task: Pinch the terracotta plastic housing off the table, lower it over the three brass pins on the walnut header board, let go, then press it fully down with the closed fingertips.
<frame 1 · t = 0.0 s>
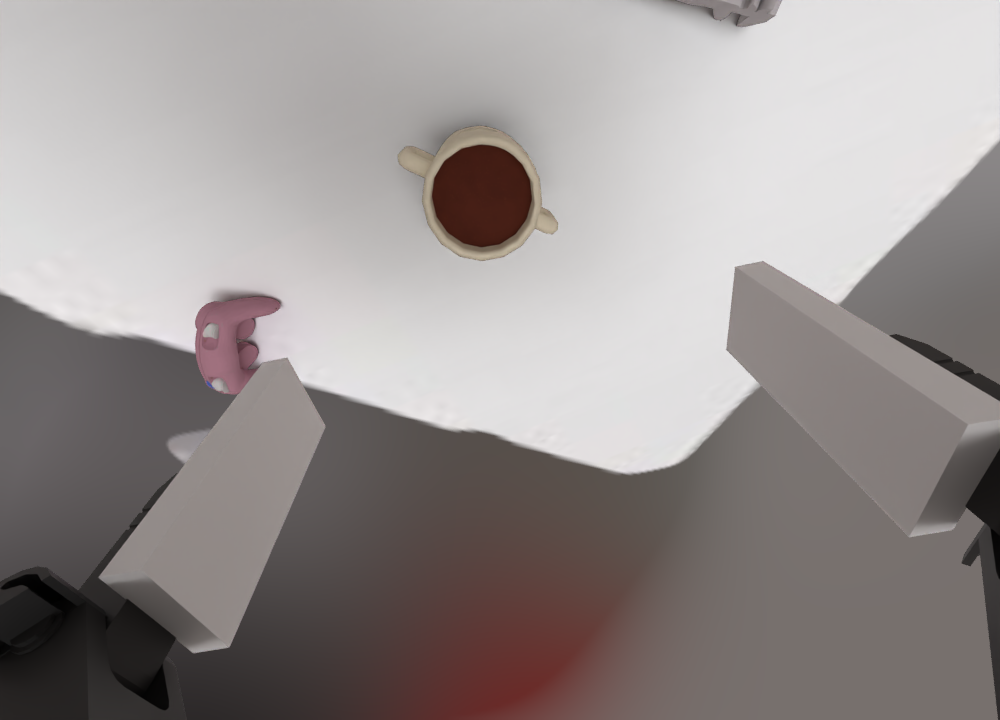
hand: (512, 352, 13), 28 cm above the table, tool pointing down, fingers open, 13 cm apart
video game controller: (256, 334, 43), on the table
character mug: (479, 167, 36), on the table
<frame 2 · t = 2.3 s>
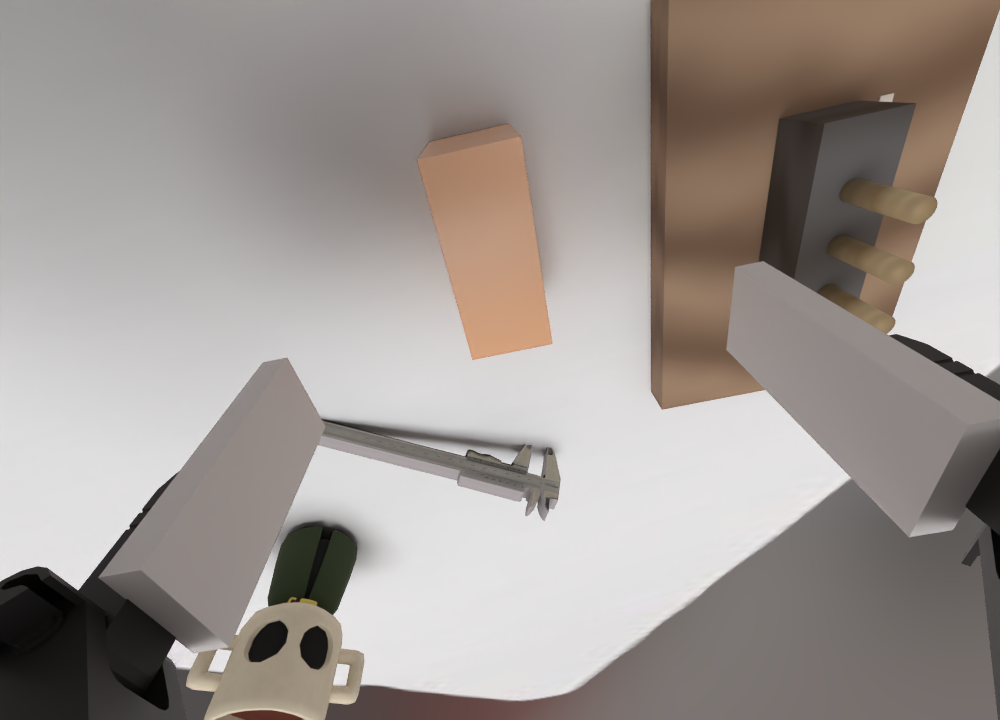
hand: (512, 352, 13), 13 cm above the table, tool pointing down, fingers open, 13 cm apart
header board: (774, 217, 24), on the table
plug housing: (487, 225, 24), on the table
character mug: (323, 541, 38), on the table
caliper: (421, 432, 32), on the table
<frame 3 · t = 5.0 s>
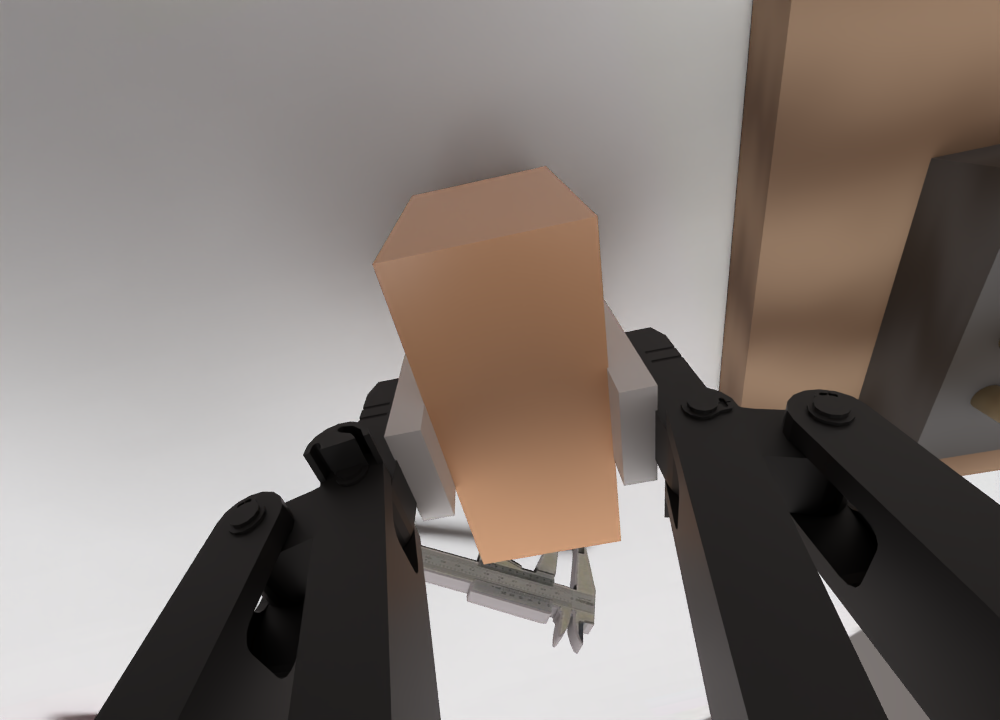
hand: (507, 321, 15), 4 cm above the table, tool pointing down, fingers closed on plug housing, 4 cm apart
header board: (891, 281, 18), on the table
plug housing: (507, 318, 15), point 3 cm above the table, touching gripper
caliper: (423, 523, 26), on the table
when the fingers open (5 cm above the table, at t = 8.7 s): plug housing stays where it is, resting on header board.
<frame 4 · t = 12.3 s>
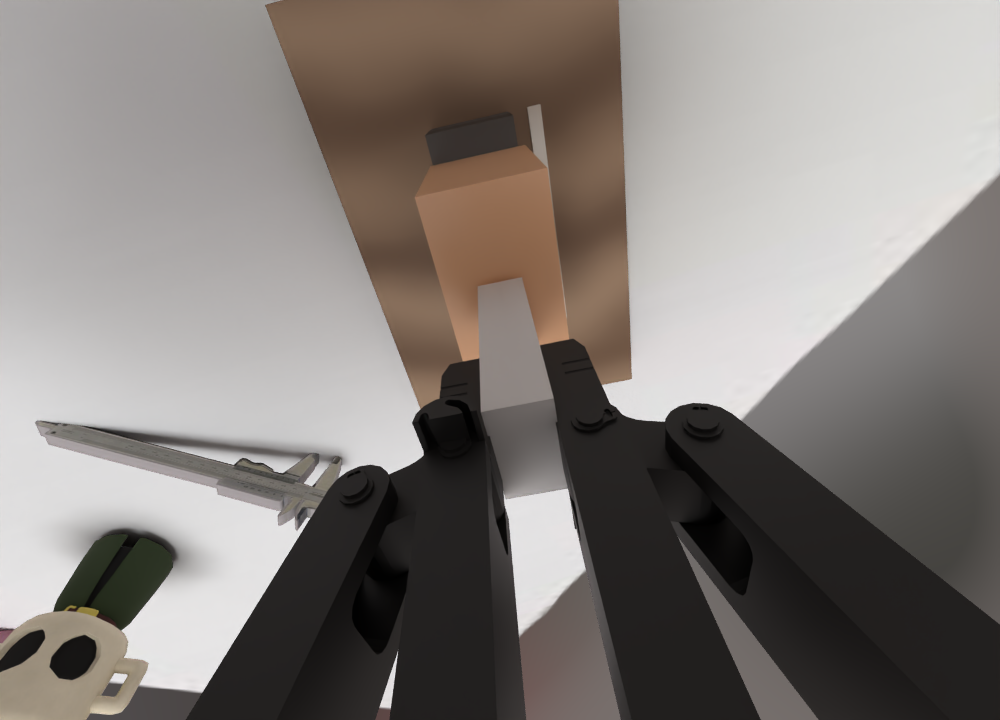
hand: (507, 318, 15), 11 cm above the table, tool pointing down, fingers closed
header board: (491, 227, 24), on the table
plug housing: (499, 260, 20), point 5 cm above the table, touching gripper, header board
character mug: (140, 548, 38), on the table
caliper: (202, 440, 32), on the table
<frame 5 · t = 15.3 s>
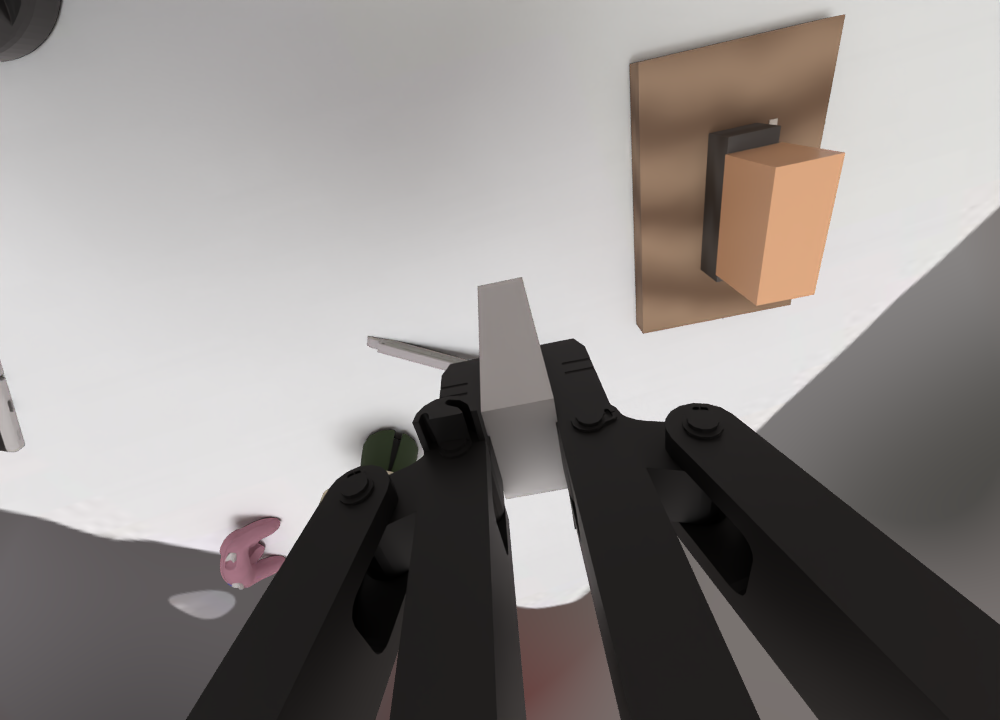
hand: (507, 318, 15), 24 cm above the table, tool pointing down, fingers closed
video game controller: (263, 535, 58), on the table
header board: (714, 197, 37), on the table
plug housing: (746, 213, 33), point 5 cm above the table, touching header board
character mug: (392, 445, 50), on the table
caliper: (468, 354, 45), on the table
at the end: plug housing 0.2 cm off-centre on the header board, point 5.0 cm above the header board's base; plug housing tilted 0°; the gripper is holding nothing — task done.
